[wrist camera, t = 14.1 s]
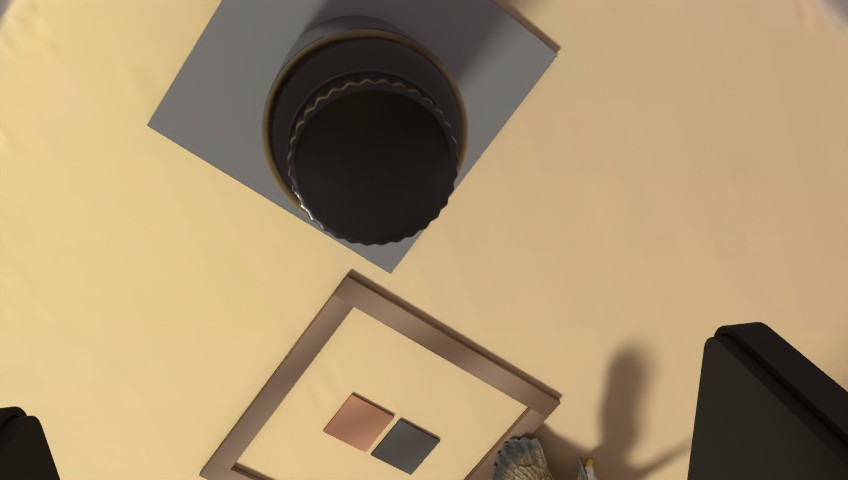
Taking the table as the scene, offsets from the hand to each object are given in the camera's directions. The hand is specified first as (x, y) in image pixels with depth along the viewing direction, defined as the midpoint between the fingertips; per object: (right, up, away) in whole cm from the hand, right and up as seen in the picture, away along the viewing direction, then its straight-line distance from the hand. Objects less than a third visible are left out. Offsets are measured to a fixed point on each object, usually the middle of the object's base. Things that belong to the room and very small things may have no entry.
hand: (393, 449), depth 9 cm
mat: (-3, +10, +20) cm, 22 cm away
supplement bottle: (-2, +10, +20) cm, 22 cm away
